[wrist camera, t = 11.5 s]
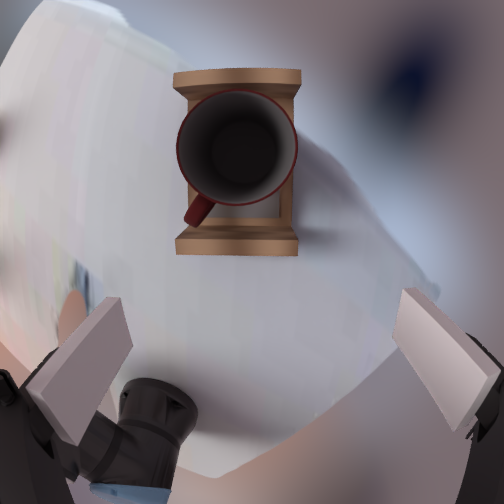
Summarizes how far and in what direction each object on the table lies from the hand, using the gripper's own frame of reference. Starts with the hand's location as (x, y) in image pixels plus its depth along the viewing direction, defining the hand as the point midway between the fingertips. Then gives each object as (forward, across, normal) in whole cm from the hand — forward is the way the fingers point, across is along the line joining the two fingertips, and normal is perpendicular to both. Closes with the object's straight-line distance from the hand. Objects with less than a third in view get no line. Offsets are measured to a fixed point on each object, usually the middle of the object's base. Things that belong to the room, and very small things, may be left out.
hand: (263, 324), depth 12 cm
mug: (+21, -2, +7) cm, 22 cm away
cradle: (+22, -2, +7) cm, 24 cm away
